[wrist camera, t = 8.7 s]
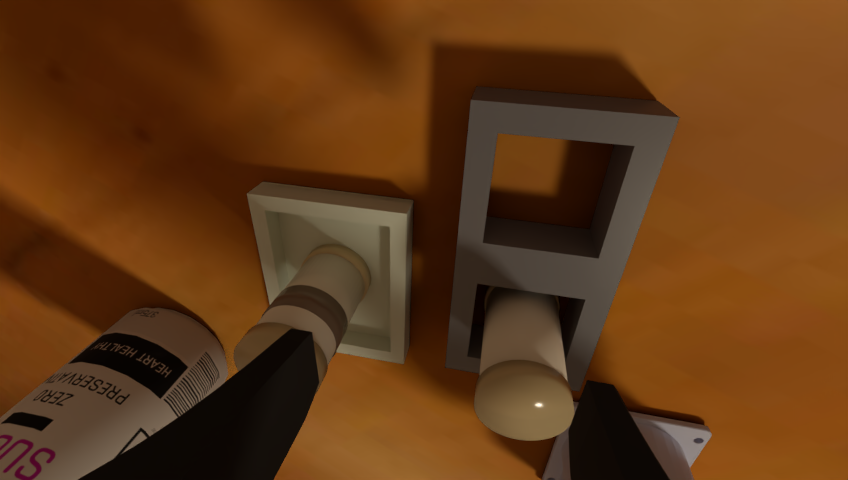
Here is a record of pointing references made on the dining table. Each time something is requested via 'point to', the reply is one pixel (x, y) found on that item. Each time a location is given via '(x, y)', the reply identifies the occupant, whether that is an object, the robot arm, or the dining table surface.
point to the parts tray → (353, 228)
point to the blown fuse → (312, 305)
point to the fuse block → (545, 243)
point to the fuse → (523, 366)
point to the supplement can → (111, 396)
